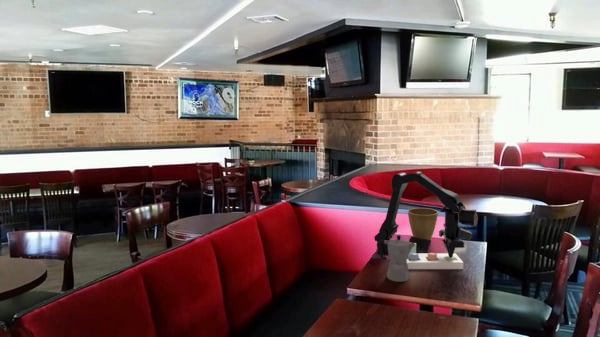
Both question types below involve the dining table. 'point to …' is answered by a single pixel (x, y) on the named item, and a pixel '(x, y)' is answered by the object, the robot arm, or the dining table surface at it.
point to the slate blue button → (413, 256)
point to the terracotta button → (432, 256)
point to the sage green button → (450, 258)
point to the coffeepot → (397, 258)
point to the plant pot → (422, 222)
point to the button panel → (434, 261)
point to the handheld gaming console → (420, 244)
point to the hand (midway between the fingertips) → (450, 257)
